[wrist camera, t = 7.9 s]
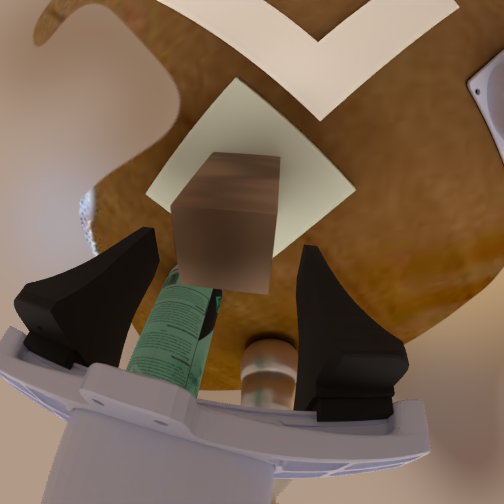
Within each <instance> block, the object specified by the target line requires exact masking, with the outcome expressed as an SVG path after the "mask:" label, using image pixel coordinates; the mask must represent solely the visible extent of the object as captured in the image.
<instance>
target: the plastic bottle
mask: <svg viewBox="0 0 504 504" xmlns="http://www.w3.org/2000/svg"><path fill="white" fill-rule="evenodd" d="M297 367H298V353H297V351H296V350H295V349H294V348H293V346H292V345H291V344H289V343H287V342H286V341H283V340H279V339H262V340H258V341H256V342H254V343H252V344H251V345H250V346H249V347H248V348H247V349H246V350H245V352H244V354H243V357H242V360H241V364H240V373H241V381H242V386H241V406H249V407H257V408H267V409H279V410H293V406H294V398H295V389H296V380H297ZM292 480H293V479H280V478H273V488H272V496H271V504H279V503H276V502H275V501H276V498H277V496H278V495H279V494H280V493H281V492H282V491H283V490H284V489H285V488H286V487H287V486H288V485H289V484H290V482H291V481H292Z"/></svg>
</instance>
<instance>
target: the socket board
mask: <svg viewBox="0 0 504 504" xmlns="http://www.w3.org/2000/svg"><path fill="white" fill-rule="evenodd" d="M157 1H159V2H161V3H163V4H165V5H167V6H168V7H170V8H172V9H174V10H176V11H177V12H179V13H181V14H183V15H184V16H186V17H188V18H189V19H191V20H193V21H194V22H196V23H197V24H199V25H201V26H202V27H204V28H205V29H207V30H208V31H210V32H211V33H213V34H214V35H216V36H217V37H219V38H220V39H222V40H223V41H225V42H226V43H228V44H229V45H230V46H232V47H233V48H235V49H236V50H237V51H239V52H240V53H241V54H243V55H244V56H245V57H247V58H248V59H249V60H251V61H252V62H253V63H254V64H256V65H257V66H258V67H260V68H261V69H262V70H263V71H264V72H266V73H267V74H268V75H269V76H271V77H272V78H273V79H274V80H275V81H277V82H278V83H279V84H280V85H281V86H282V87H284V88H285V89H286V90H287V91H288V92H289V93H290V94H291V95H293V96H294V97H295V98H296V99H297V100H298V101H299V102H300V103H301V104H302V105H304V106H305V107H306V108H307V109H308V110H309V111H310V112H311V113H312V114H313V115H314V116H315V117H316V118H317V119H318V120H319V121H321V120H322V119H323V118H324V117H326V116H327V115H328V114H329V113H330V112H331V111H332V110H333V109H334V108H336V107H337V106H338V105H339V104H340V103H341V102H342V101H343V100H345V99H346V98H347V97H348V96H349V95H350V94H351V93H352V92H354V91H355V90H356V89H357V88H358V87H359V86H361V85H362V84H363V83H364V82H365V81H366V80H368V79H369V78H370V77H371V76H372V75H373V74H375V73H376V72H377V71H378V70H379V69H381V68H382V67H383V66H384V65H385V64H387V63H388V62H389V61H390V60H391V59H393V58H394V57H395V56H396V55H398V54H399V53H400V52H401V51H402V50H404V49H405V48H406V47H408V46H409V45H410V44H411V43H413V42H414V41H415V40H416V39H418V38H419V37H420V36H422V35H423V34H424V33H425V32H427V31H428V30H429V29H431V28H432V27H433V26H435V25H436V24H437V23H439V22H440V21H441V20H443V19H444V18H445V17H447V16H448V15H450V14H451V13H452V12H454V11H455V10H457V9H458V8H459V6H458V5H457V3H456V2H455V1H454V0H371V1H369V2H368V3H367V4H365V5H364V6H363V7H361V8H360V9H359V10H357V11H356V12H355V13H353V14H352V15H351V16H349V17H348V18H347V19H346V20H344V21H343V22H342V23H341V24H339V25H338V26H337V27H336V28H334V29H333V30H332V31H331V32H330V33H328V34H327V35H326V36H325V37H324V38H322V39H321V40H320V41H319V42H317V41H316V40H315V39H313V38H312V37H311V36H310V35H309V34H308V33H306V32H305V31H304V30H303V29H301V28H300V27H299V26H298V25H297V24H295V23H294V22H293V21H291V20H290V19H289V18H287V17H286V16H285V15H283V14H282V13H281V12H279V11H278V10H277V9H275V8H274V7H272V6H271V5H270V4H268V3H267V2H265V1H264V0H157Z"/></svg>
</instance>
